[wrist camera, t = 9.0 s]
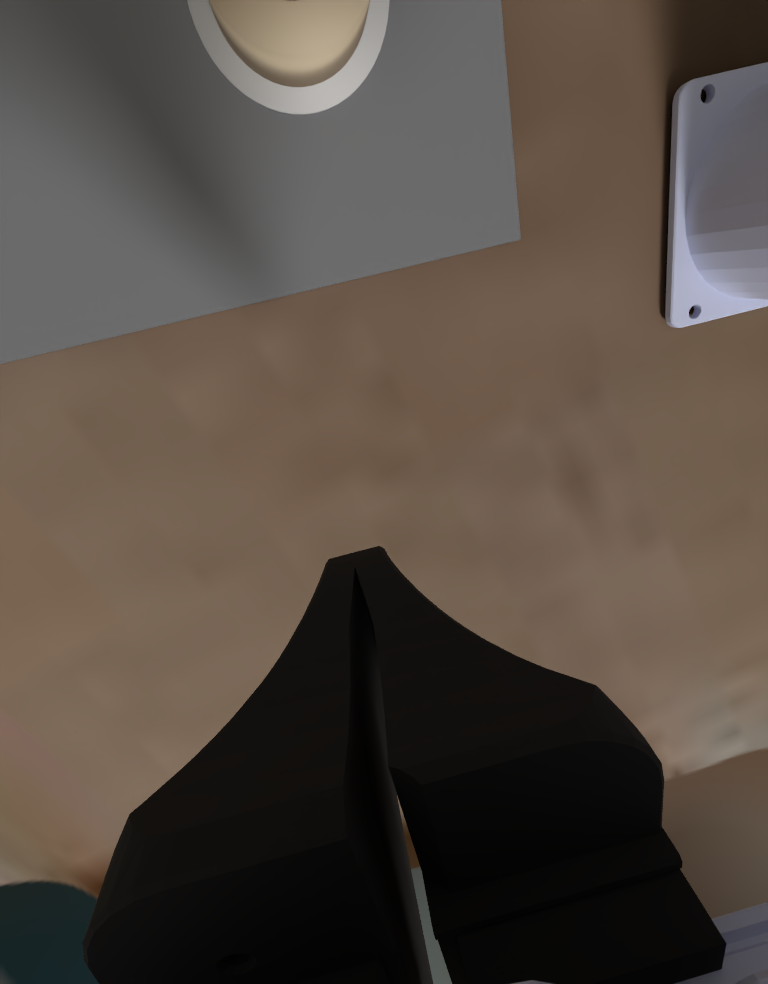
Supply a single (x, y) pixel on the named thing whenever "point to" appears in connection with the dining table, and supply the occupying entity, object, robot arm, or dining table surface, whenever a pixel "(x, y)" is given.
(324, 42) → the beech link
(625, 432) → the dining table surface
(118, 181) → the light grey baseplate
